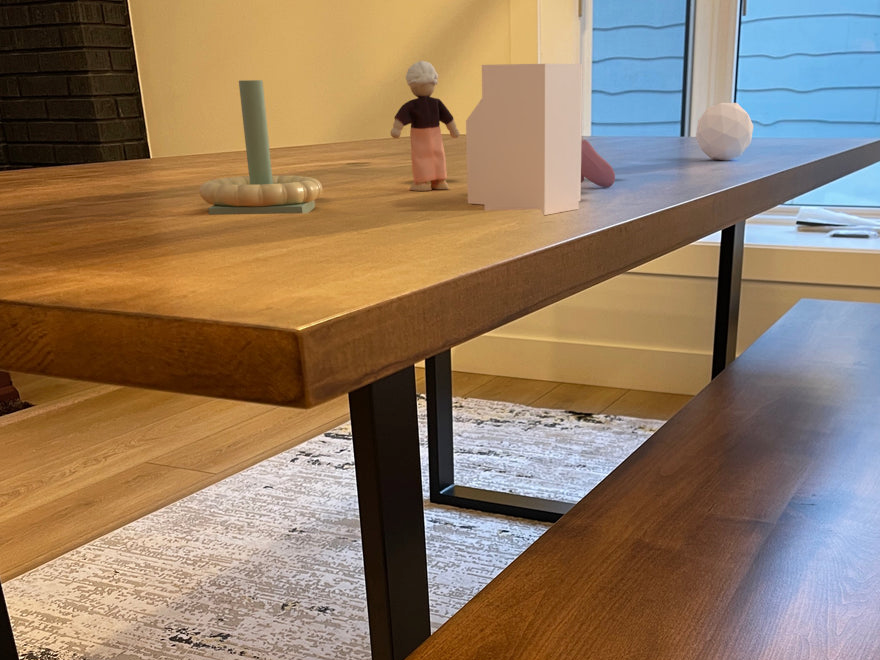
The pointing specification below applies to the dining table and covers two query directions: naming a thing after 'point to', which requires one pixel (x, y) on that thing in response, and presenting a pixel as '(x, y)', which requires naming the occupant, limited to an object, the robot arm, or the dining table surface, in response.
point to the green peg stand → (257, 152)
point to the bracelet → (260, 191)
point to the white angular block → (526, 138)
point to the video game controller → (595, 166)
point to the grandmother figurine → (425, 128)
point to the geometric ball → (724, 131)
